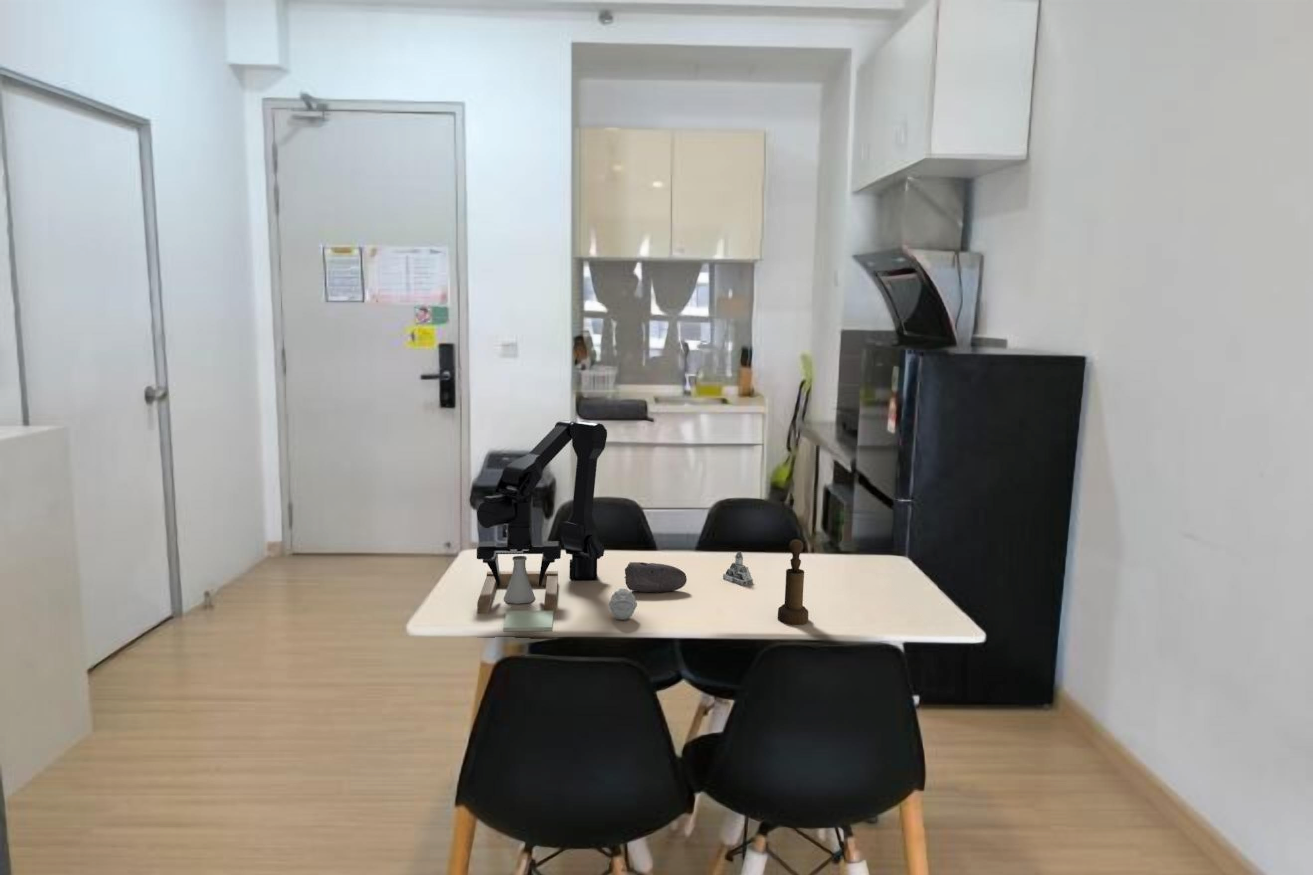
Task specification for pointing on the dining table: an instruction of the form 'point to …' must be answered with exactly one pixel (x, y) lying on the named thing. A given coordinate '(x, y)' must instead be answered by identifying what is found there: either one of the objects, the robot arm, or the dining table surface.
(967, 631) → the dining table surface
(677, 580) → the perforated stone tool
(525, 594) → the flask
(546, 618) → the pad
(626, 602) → the frog figurine
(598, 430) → the robot arm
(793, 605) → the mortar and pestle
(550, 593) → the frame
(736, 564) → the grey temple model
